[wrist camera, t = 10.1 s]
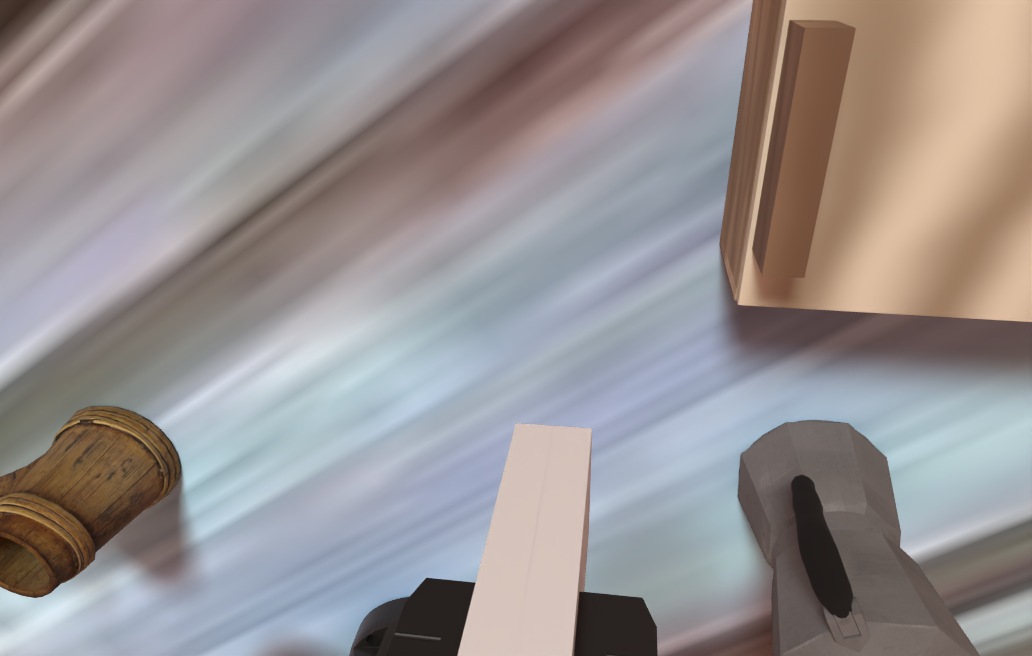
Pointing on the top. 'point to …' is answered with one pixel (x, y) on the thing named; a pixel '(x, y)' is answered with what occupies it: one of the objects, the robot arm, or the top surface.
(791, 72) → the lid
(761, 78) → the box
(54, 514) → the wooden mug
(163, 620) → the top surface
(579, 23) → the top surface
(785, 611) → the coffeepot
